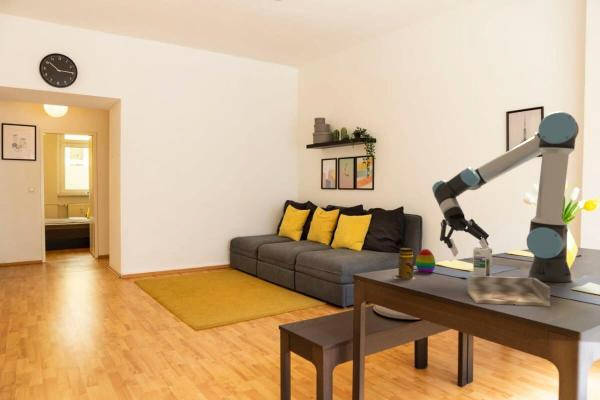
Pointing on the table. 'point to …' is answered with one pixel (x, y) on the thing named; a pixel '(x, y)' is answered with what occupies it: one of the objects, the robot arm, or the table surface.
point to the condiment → (405, 264)
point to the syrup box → (482, 261)
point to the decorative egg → (425, 261)
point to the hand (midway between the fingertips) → (472, 253)
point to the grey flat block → (508, 290)
